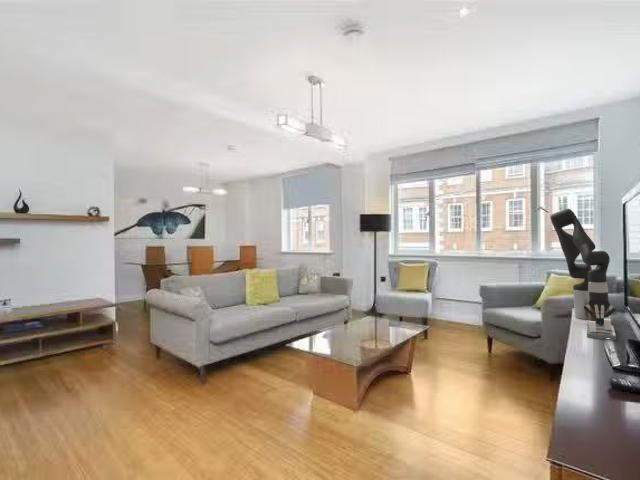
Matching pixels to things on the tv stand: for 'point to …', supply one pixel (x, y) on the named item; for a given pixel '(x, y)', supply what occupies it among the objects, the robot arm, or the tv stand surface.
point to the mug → (595, 313)
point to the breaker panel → (601, 332)
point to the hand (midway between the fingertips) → (600, 325)
